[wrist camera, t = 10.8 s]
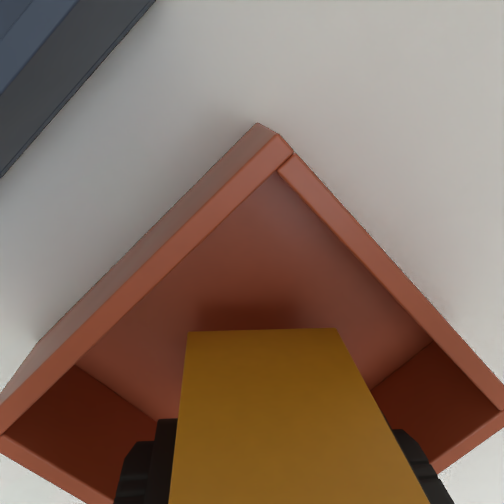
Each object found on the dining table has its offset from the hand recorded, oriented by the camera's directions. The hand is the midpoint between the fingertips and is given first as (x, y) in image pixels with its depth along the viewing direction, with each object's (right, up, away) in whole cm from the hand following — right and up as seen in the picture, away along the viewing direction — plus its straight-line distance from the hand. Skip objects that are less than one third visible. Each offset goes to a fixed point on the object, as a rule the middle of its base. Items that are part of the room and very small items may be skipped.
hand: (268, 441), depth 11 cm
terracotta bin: (0, +2, +5) cm, 5 cm away
